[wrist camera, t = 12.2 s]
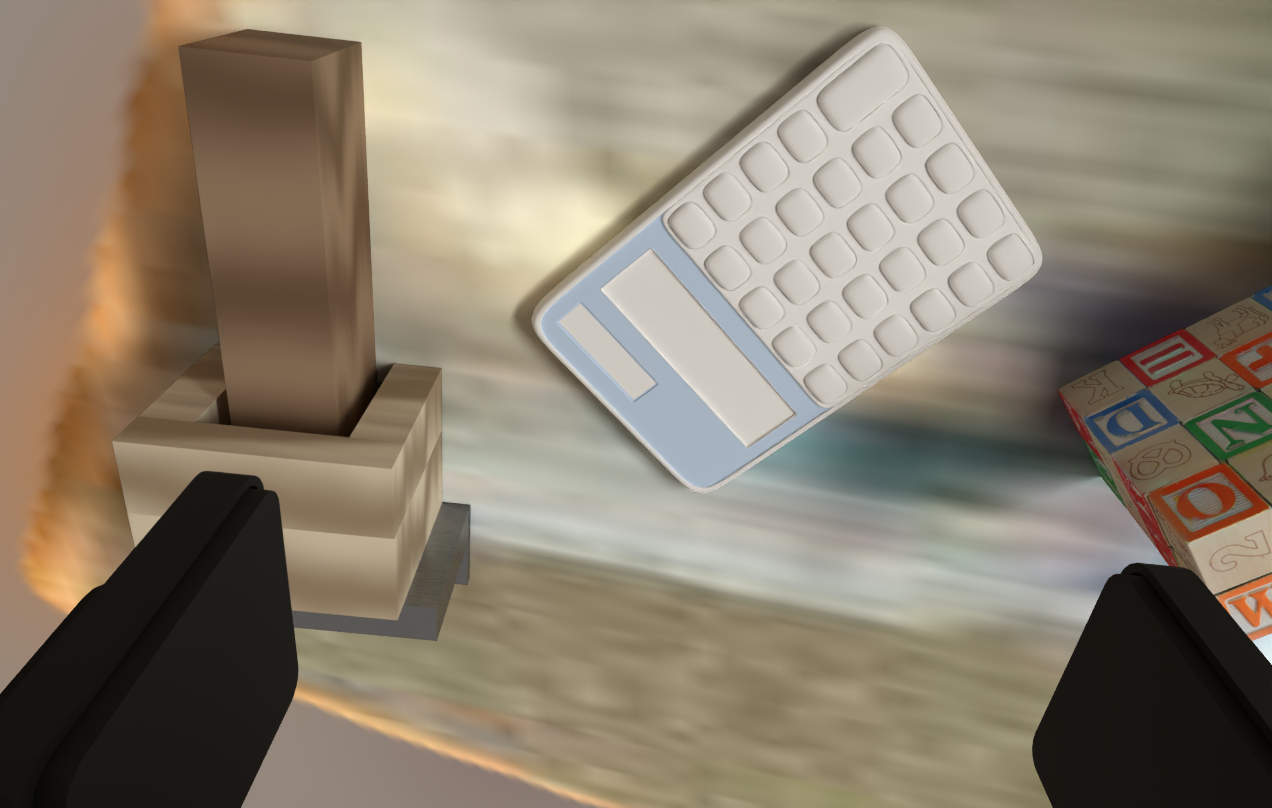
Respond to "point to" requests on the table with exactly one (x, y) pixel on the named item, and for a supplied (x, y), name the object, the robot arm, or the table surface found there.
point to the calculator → (791, 268)
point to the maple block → (306, 482)
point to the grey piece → (416, 585)
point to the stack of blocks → (1194, 449)
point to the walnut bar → (286, 225)
